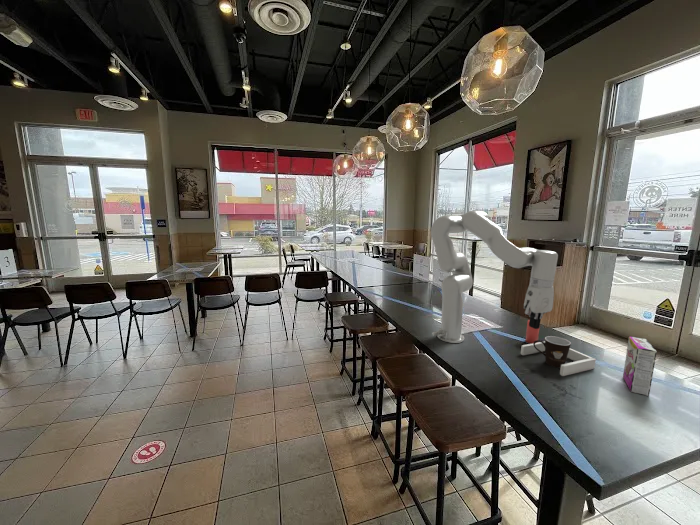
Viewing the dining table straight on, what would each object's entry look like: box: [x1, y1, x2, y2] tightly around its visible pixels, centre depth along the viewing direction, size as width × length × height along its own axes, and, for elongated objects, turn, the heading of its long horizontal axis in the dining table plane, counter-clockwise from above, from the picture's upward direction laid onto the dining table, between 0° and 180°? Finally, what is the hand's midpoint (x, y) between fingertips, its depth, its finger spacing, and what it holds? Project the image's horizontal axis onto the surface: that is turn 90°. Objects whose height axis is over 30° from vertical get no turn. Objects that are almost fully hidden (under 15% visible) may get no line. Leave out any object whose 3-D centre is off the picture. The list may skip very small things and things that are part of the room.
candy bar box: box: [622, 336, 657, 397], centre depth 102 cm, size 11×5×16 cm, turn 148°
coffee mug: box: [533, 335, 572, 369], centre depth 119 cm, size 12×9×10 cm
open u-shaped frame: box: [520, 340, 597, 377], centre depth 121 cm, size 17×18×4 cm
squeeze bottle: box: [525, 319, 541, 344], centre depth 138 cm, size 5×5×12 cm
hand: (533, 327), depth 115 cm, fingers closed
